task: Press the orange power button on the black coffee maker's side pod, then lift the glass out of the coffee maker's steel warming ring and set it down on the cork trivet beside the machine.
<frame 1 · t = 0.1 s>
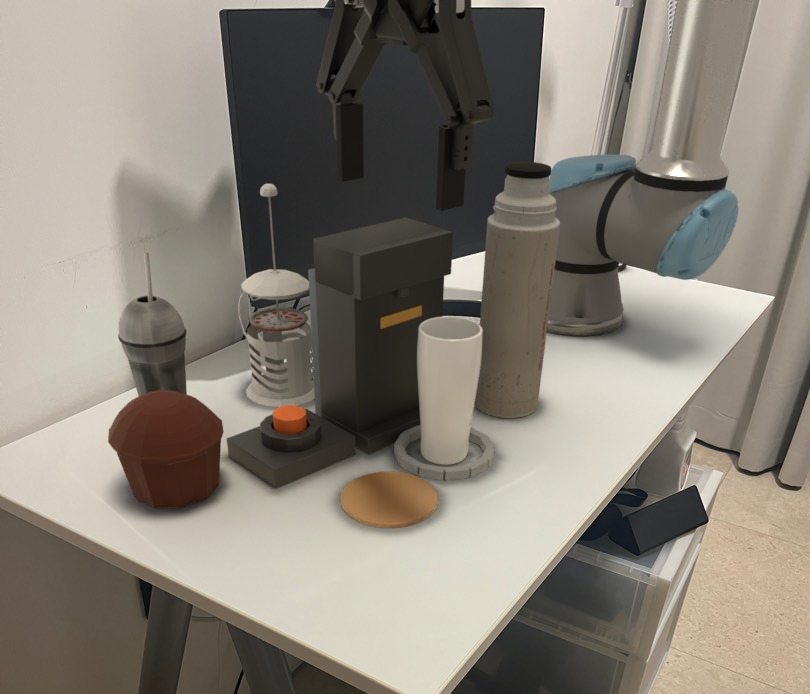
hand: (397, 193, 77), 28 cm above the table, tool pointing down, fingers open, 13 cm apart
power button: (289, 419, 90), point 5 cm above the table, slide at 0.2 cm
french press: (279, 390, 107), on the table
muffin: (175, 487, 87), on the table
trivet: (389, 501, 86), on the table
coffee maker: (443, 455, 94), on the table
power switch: (292, 456, 93), on the table
thermos bottle: (505, 405, 104), on the table
drinking glass: (443, 456, 94), resting in coffee maker
beverage cup: (168, 428, 98), on the table
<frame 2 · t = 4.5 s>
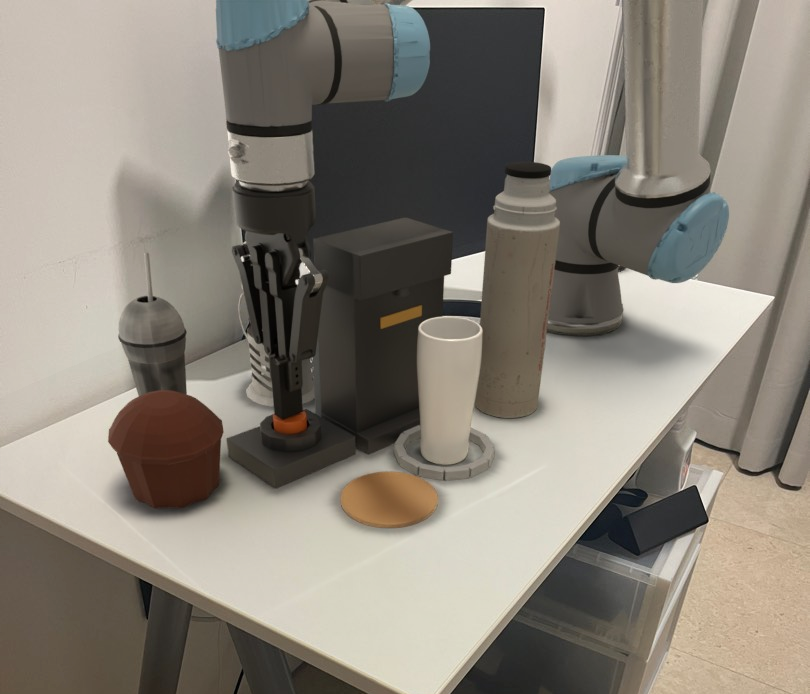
hand: (288, 413, 90), 5 cm above the table, tool pointing down, fingers closed
power button: (290, 422, 90), point 4 cm above the table, slide at -0.1 cm, touching gripper
everything else where it was.
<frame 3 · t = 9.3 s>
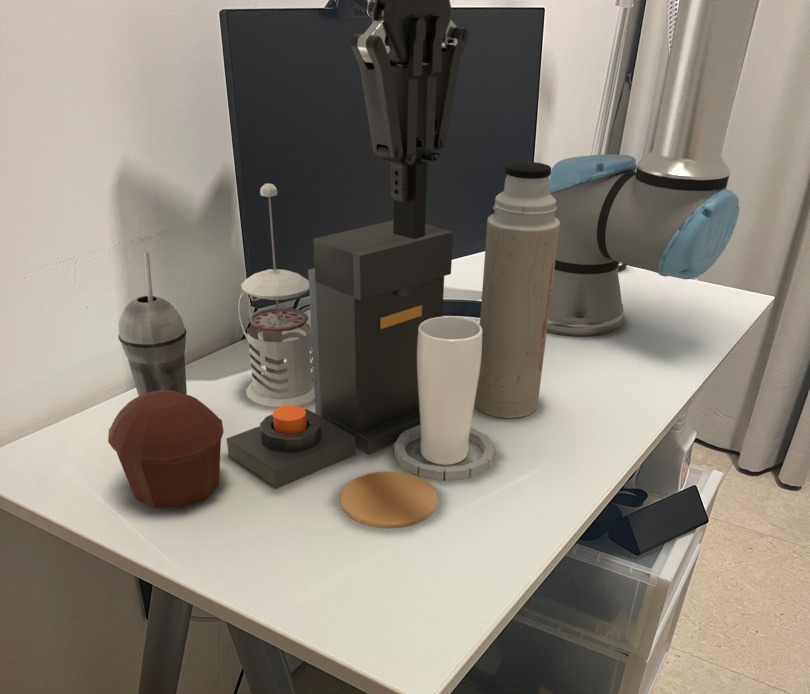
hand: (408, 234, 79), 24 cm above the table, tool pointing down, fingers closed
power button: (289, 419, 90), point 5 cm above the table, slide at 0.2 cm
everything else where it was.
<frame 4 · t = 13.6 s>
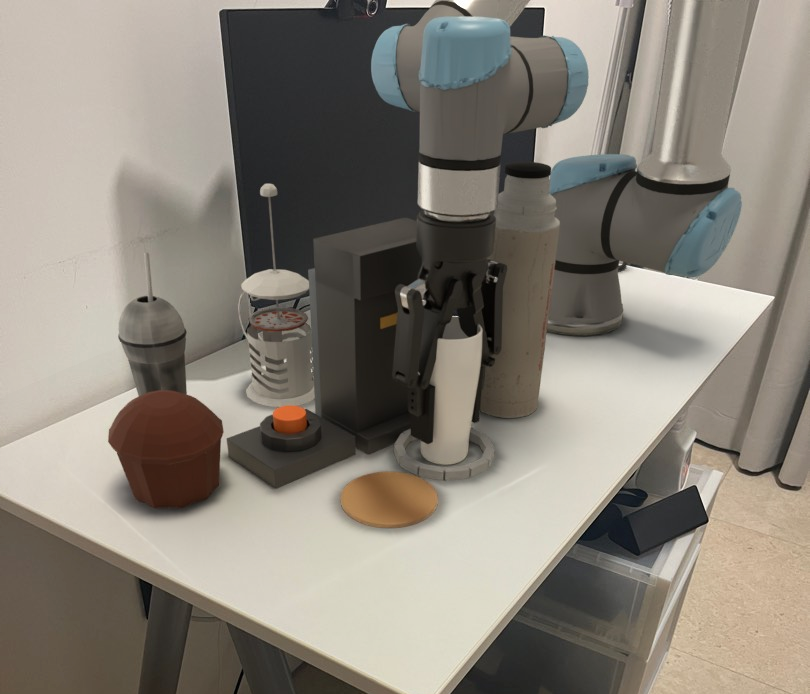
hand: (445, 427, 92), 3 cm above the table, tool pointing down, fingers closed on drinking glass, 7 cm apart
drinking glass: (443, 456, 94), resting in coffee maker, touching gripper
everything else where it was.
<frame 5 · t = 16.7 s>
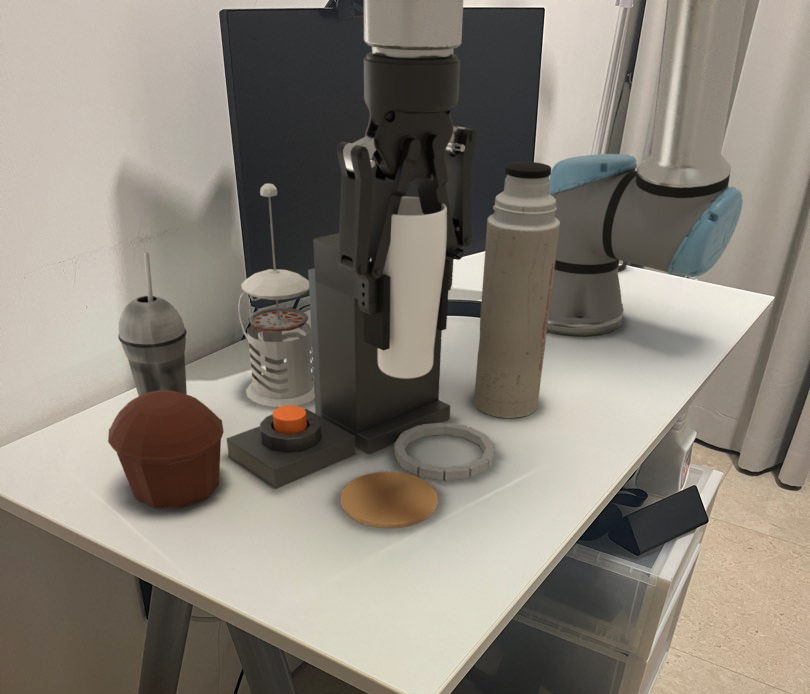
hand: (405, 334, 77), 17 cm above the table, tool pointing down, fingers closed on drinking glass, 7 cm apart
drinking glass: (405, 371, 80), point 13 cm above the table, touching gripper
everything else where it was.
when the fingers open (4 cm above the table, at t = 20.1 s): drinking glass stays where it is, resting on trivet.
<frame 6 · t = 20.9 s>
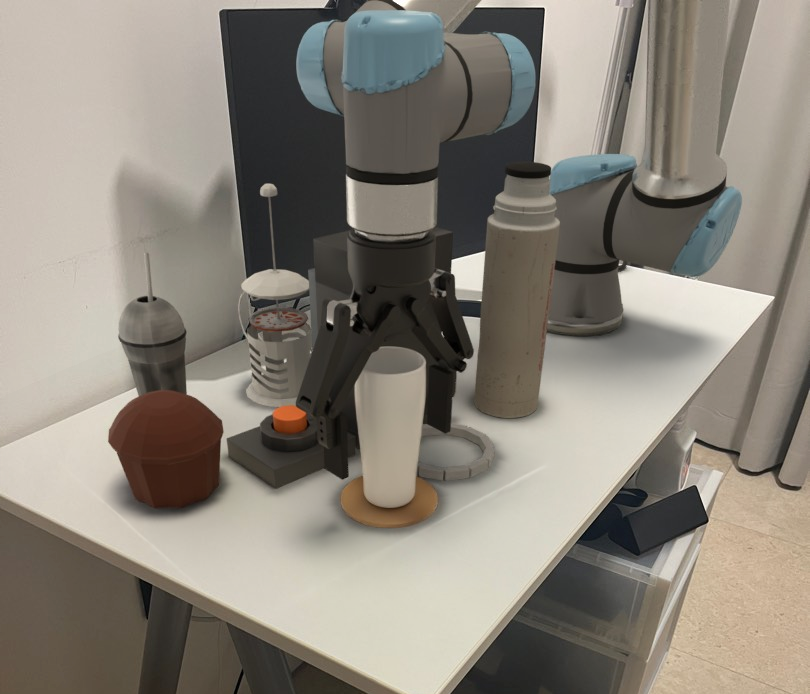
hand: (389, 449, 82), 6 cm above the table, tool pointing down, fingers open, 13 cm apart
drinking glass: (389, 497, 85), resting on trivet
everything else where it was.
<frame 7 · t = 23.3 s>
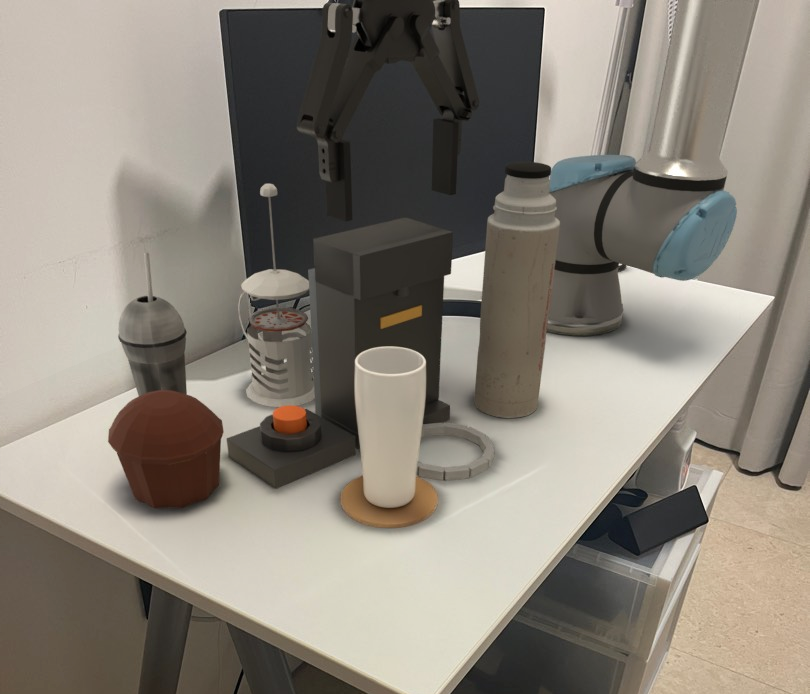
hand: (394, 204, 79), 26 cm above the table, tool pointing down, fingers open, 13 cm apart
nothing on the table moved.
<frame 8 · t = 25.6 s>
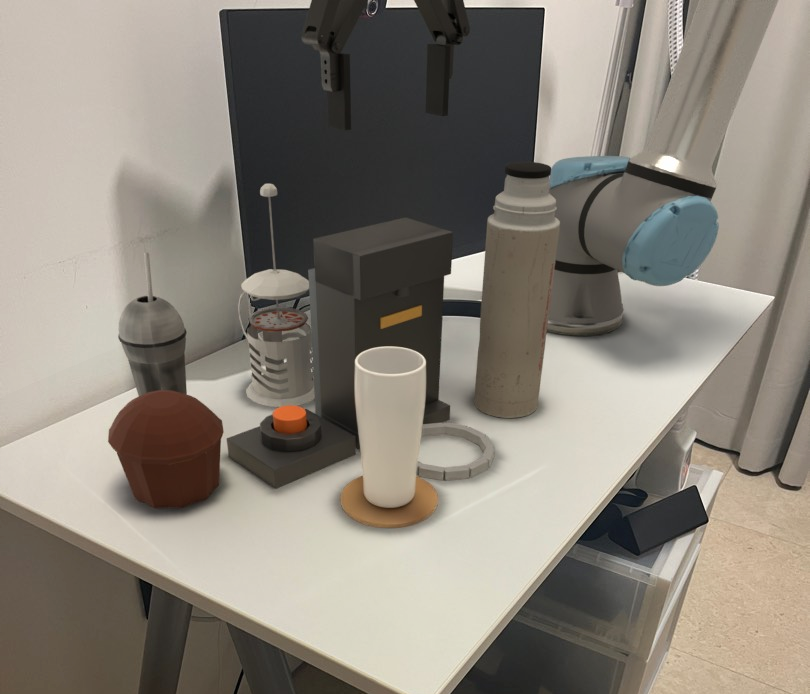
hand: (390, 121, 87), 32 cm above the table, tool pointing down, fingers open, 13 cm apart
nothing on the table moved.
at the end: power button pushed in 0.8 cm at the most during the clip, back to 0.2 cm at the end; drinking glass 0.0 cm off-centre on the trivet, point 0.4 cm above the trivet's base; drinking glass tilted 0° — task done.
